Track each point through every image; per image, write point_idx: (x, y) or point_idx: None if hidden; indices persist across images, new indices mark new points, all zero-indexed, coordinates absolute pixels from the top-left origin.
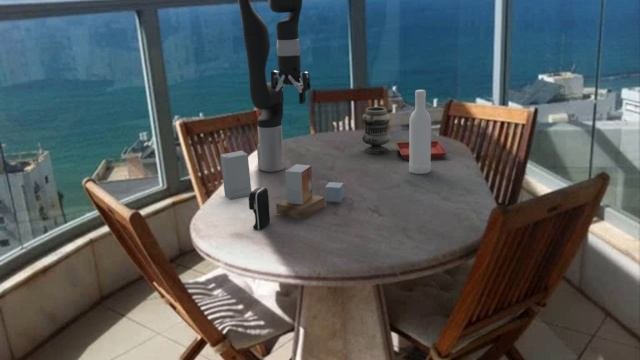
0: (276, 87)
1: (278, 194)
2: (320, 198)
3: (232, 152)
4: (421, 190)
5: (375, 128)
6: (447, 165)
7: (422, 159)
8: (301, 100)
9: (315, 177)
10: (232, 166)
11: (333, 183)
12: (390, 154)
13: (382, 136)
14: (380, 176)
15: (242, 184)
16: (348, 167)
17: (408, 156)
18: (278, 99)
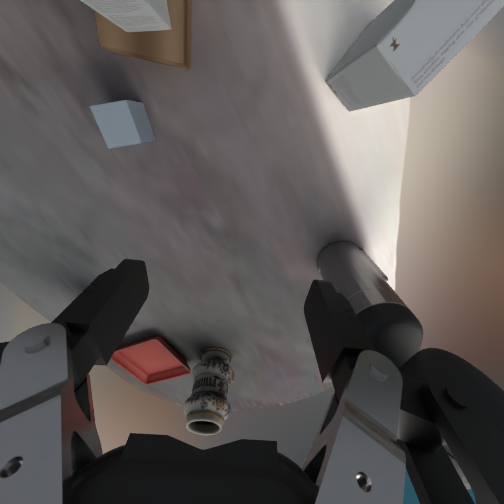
0: (398, 394)
1: (264, 113)
2: (101, 27)
3: (452, 51)
4: (35, 223)
5: (202, 385)
6: None
7: None
8: (115, 277)
9: (241, 237)
10: None
11: (126, 135)
12: (189, 348)
13: (196, 374)
14: None
15: (354, 48)
16: (214, 293)
17: (150, 339)
18: (332, 291)
